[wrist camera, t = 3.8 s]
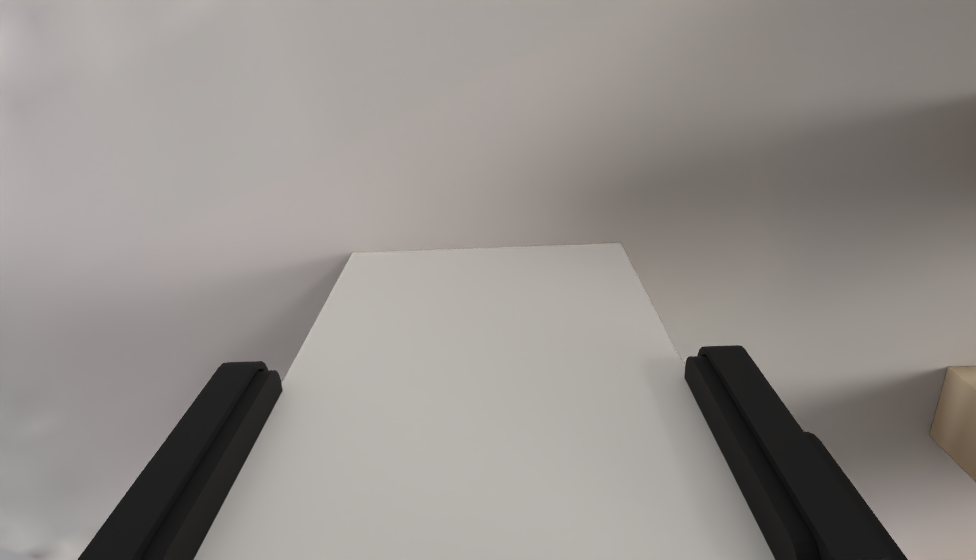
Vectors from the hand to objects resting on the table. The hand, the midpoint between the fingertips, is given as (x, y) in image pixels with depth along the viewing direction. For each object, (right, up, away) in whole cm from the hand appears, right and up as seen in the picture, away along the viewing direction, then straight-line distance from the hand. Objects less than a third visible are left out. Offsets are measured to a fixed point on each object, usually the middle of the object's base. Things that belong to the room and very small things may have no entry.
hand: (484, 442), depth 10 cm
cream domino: (0, +2, +5) cm, 6 cm away
